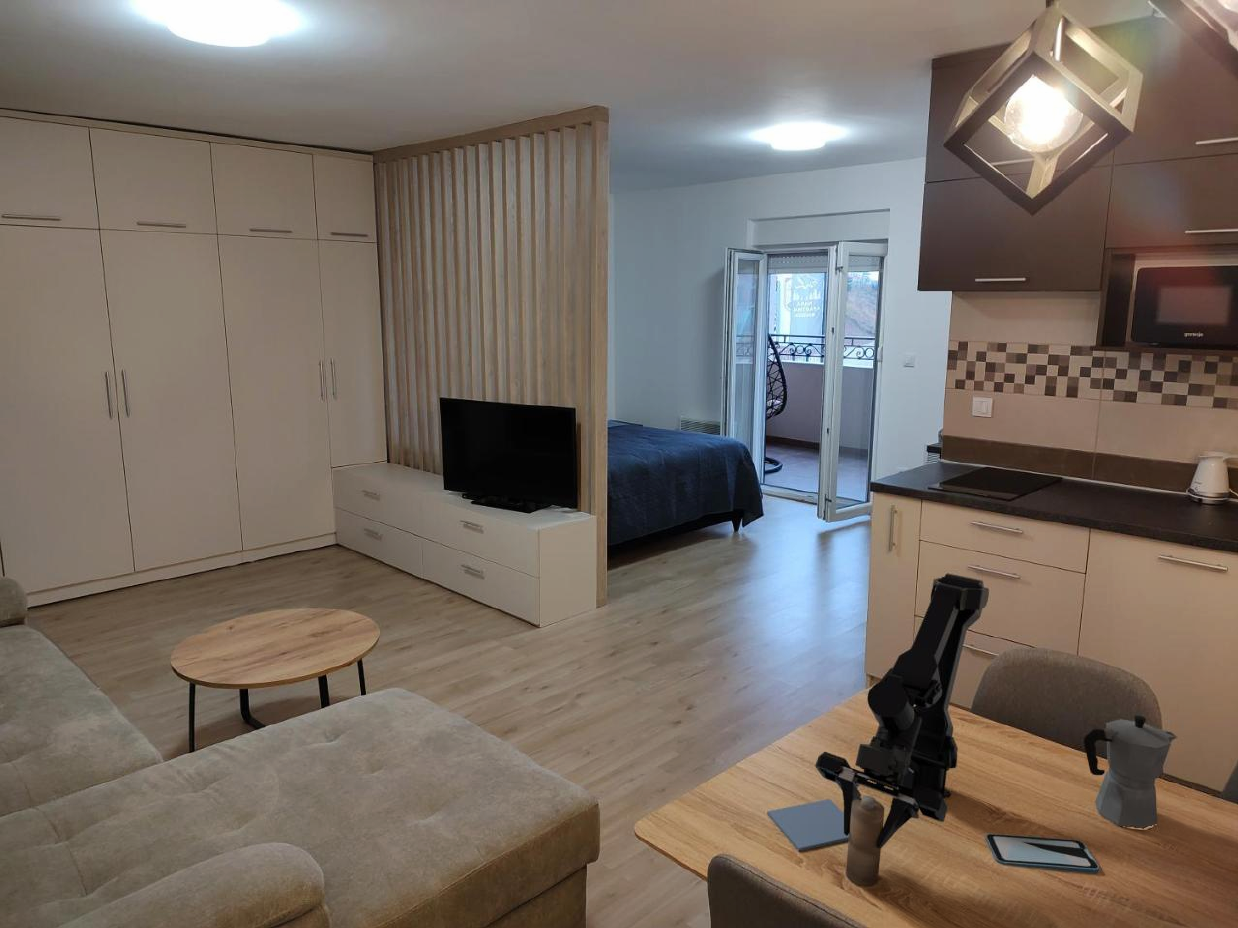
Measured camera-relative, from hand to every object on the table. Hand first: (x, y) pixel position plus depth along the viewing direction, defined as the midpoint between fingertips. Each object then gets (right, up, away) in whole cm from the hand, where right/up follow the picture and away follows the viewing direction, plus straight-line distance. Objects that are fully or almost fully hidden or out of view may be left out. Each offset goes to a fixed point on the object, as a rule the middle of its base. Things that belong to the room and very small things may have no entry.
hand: (861, 841), depth 124 cm
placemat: (-4, -4, +14) cm, 15 cm away
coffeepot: (+49, -4, +19) cm, 53 cm away
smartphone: (+30, -6, +9) cm, 32 cm away
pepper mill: (+1, -6, +2) cm, 7 cm away
